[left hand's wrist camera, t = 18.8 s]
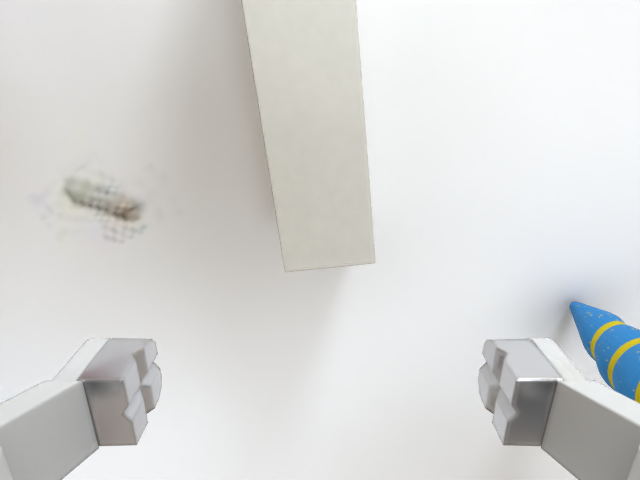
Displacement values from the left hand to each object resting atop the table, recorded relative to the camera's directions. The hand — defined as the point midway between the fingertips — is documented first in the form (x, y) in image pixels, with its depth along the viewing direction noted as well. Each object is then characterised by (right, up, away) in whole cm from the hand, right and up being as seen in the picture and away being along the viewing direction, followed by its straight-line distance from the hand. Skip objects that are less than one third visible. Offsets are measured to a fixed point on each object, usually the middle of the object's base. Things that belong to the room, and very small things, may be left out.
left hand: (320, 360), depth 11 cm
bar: (-1, +16, +19) cm, 25 cm away
